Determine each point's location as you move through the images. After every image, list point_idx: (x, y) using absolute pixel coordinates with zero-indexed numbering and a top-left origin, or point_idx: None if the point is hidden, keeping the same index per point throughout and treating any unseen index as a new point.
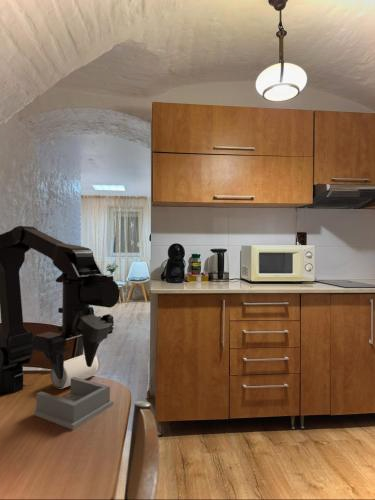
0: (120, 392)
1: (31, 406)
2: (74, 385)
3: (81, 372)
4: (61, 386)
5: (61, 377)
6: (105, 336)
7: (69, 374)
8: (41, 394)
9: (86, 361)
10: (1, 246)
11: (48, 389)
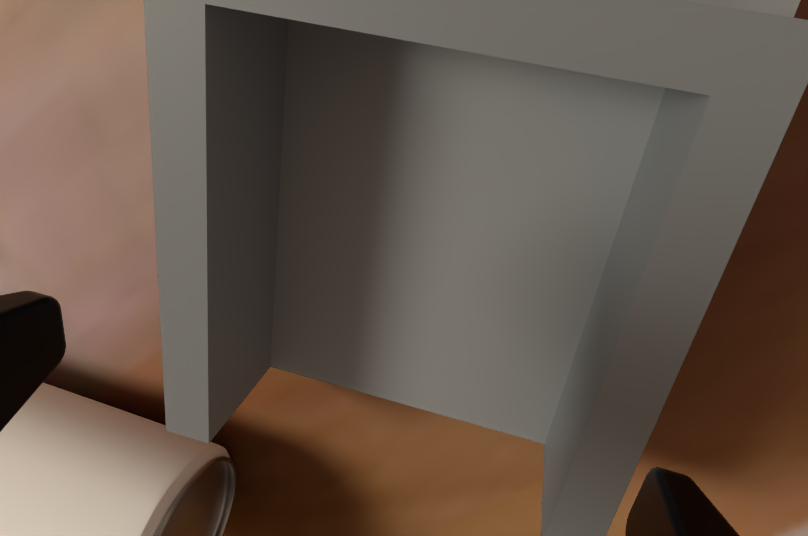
0: (30, 4)
1: (498, 507)
2: (237, 370)
3: (44, 430)
4: (222, 468)
5: (698, 492)
6: None
7: (141, 489)
8: (603, 519)
9: (6, 408)
10: None
11: (268, 520)
